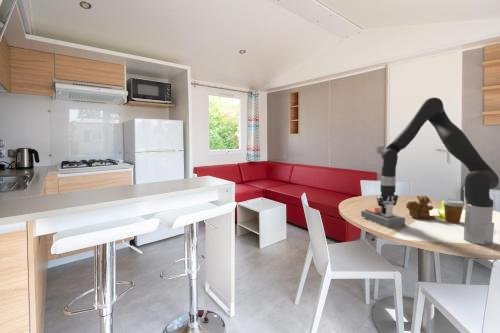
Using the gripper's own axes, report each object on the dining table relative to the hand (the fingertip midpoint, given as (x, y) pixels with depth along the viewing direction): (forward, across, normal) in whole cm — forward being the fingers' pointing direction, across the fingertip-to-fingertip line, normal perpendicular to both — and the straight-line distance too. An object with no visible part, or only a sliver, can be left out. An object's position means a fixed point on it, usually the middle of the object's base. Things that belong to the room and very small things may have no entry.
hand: (386, 213), depth 144 cm
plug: (+2, 0, 0) cm, 2 cm away
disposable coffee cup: (+6, -35, +13) cm, 38 cm away
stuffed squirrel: (+6, -26, 0) cm, 26 cm away
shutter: (+1, 0, -9) cm, 9 cm away
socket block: (+6, 0, -3) cm, 6 cm away
